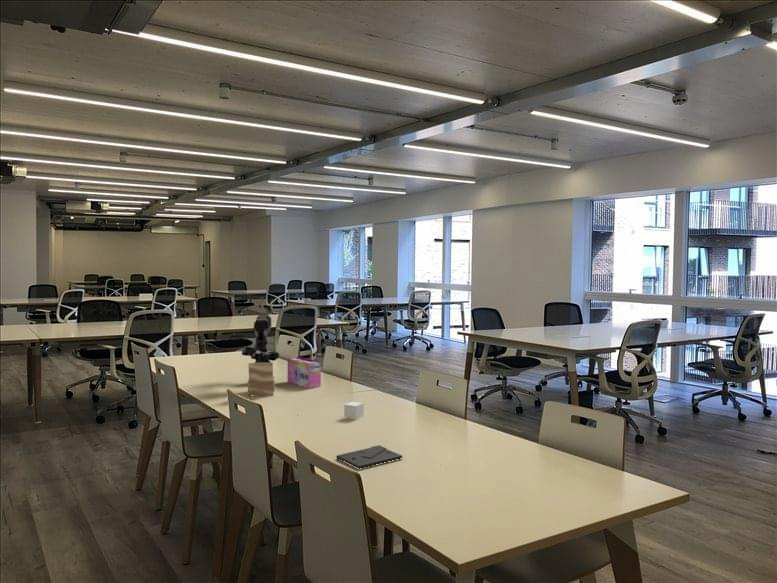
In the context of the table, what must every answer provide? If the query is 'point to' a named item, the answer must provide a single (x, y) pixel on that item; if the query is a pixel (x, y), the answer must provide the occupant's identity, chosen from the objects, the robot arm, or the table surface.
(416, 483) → the table surface
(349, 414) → the white cube
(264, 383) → the carton
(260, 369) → the flap
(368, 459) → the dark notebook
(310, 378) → the gum box
